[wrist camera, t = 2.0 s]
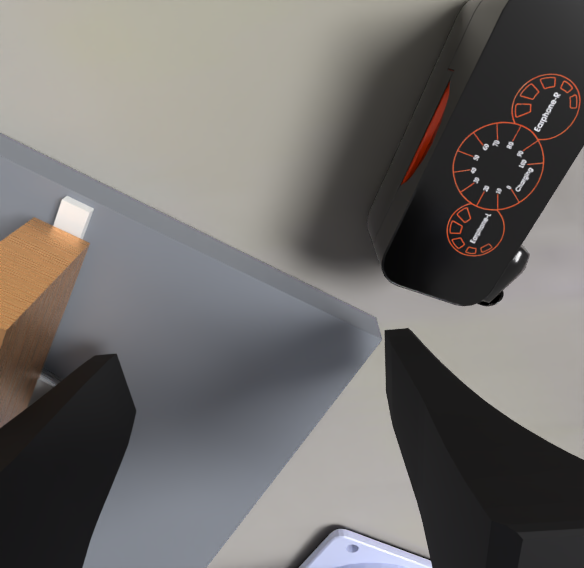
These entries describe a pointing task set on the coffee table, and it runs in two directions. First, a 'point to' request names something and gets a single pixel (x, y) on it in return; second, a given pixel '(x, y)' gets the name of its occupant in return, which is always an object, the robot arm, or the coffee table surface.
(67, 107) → the coffee table surface
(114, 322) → the board
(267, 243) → the coffee table surface
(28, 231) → the orange block with disc
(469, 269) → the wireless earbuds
